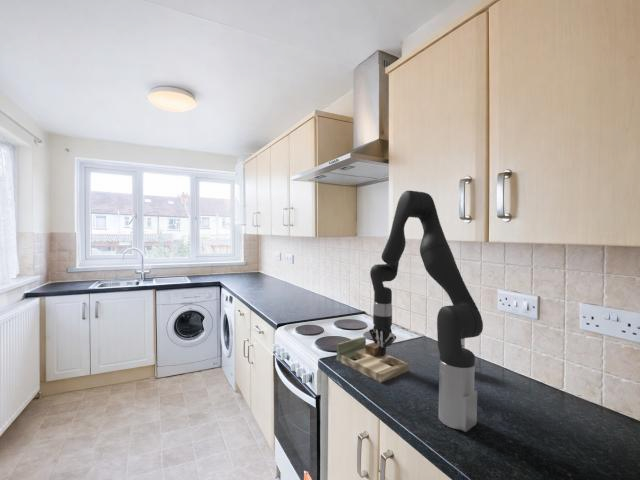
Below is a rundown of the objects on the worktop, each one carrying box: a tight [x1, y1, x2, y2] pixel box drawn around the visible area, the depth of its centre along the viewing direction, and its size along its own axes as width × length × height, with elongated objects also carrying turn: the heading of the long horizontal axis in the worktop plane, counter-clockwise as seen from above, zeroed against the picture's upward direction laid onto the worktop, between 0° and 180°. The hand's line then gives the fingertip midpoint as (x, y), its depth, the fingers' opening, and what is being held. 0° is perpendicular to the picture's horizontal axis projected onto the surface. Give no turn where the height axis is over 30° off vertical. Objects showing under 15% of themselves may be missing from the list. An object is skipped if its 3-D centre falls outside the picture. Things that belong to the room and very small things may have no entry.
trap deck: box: [336, 336, 409, 384], centre depth 126 cm, size 24×16×7 cm, turn 37°
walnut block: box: [365, 341, 379, 357], centre depth 131 cm, size 5×5×4 cm
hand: (381, 355), depth 127 cm, fingers closed
